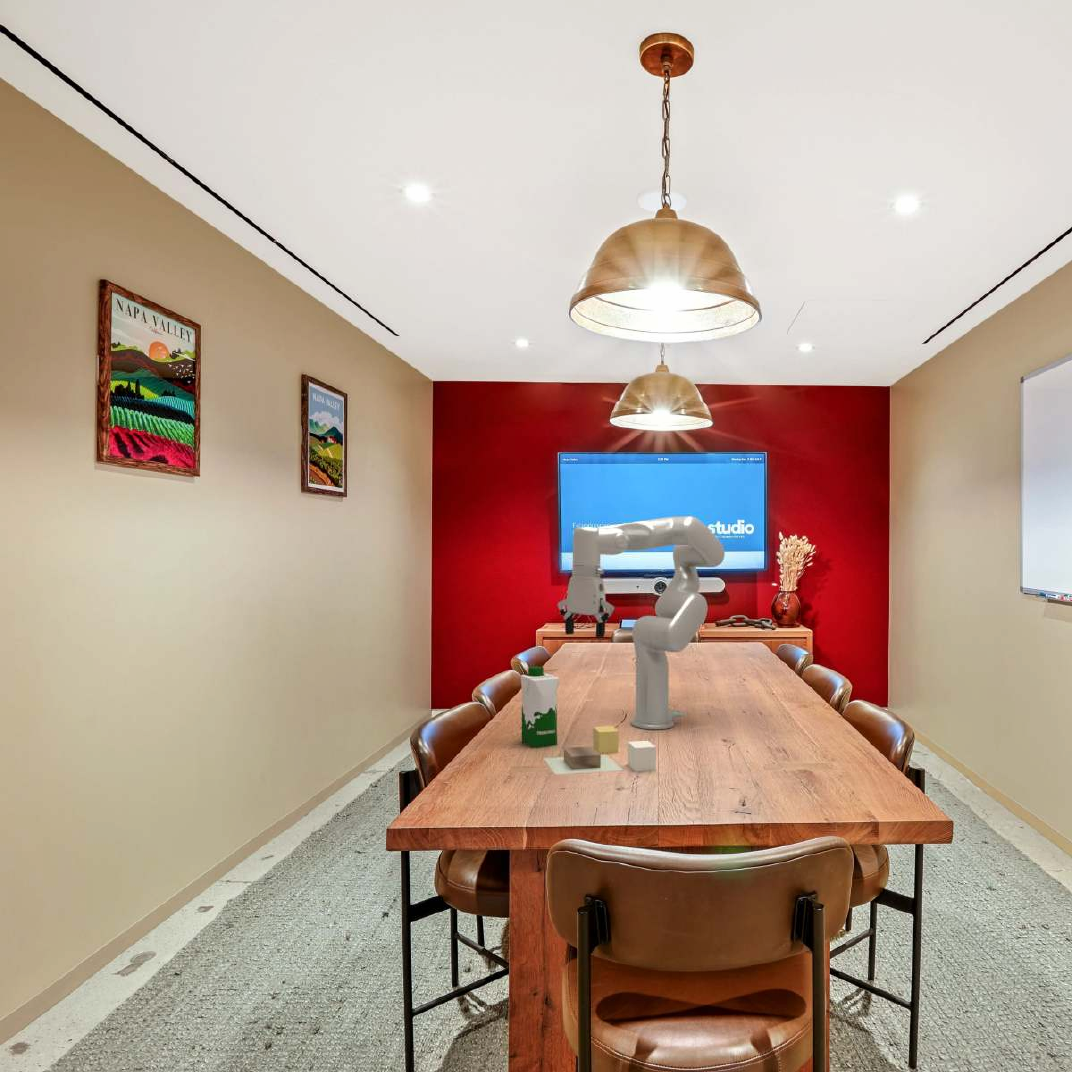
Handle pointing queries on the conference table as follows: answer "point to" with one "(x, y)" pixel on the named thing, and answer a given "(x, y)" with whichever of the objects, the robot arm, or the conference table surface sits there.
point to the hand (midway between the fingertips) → (584, 635)
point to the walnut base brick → (582, 757)
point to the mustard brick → (605, 739)
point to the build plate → (562, 768)
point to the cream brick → (641, 756)
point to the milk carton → (539, 708)
